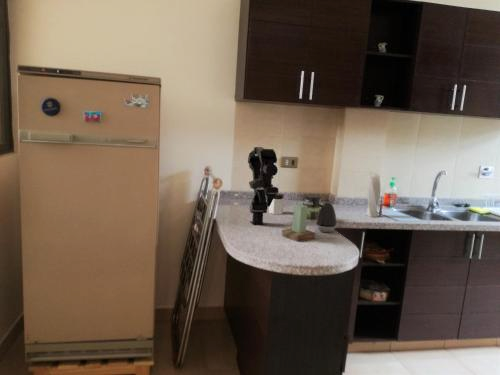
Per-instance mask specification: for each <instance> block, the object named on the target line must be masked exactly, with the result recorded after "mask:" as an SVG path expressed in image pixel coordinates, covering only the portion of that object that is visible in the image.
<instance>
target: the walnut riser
mask: <svg viewBox="0 0 500 375" xmlns="http://www.w3.org/2000/svg"><path fill="white" fill-rule="evenodd" d="M281 237H284V238H286V239H289V240H292V241H295V242H303V241H304V242H305V241H309V240H315V237H316V232H314V231H311V230H307V229H306V232H302V233H297V232H294V231H292V228H287V229H282V230H281Z"/></svg>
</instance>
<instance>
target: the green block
mask: <svg viewBox="0 0 500 375" xmlns="http://www.w3.org/2000/svg"><path fill="white" fill-rule="evenodd" d="M307 209H308V206H305V205H303V204H300V203H299V204H294V205H293V213H292V214H293V216H292V225H291V226H292V228H291V229H292V231H294V232H297V233H302V232H306V230H307V221H306V220H307Z"/></svg>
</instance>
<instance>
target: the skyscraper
mask: <svg viewBox="0 0 500 375" xmlns="http://www.w3.org/2000/svg"><path fill="white" fill-rule="evenodd" d="M369 176H370V178H369V179H370V180H369V182H368V187H367V202H368V207H367V210H366V214H365V216H366V217H369V218H374V219H377V218H382V213H383V210H382V209H383V204H382V203H383V198H382V197H381V199H380V196H381V180H380V179H381V175H380V174H378V173H376V172H373V174H372V173H369ZM379 200H380V204H379V211H378V203H379Z"/></svg>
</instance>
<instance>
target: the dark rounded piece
mask: <svg viewBox="0 0 500 375" xmlns="http://www.w3.org/2000/svg"><path fill="white" fill-rule="evenodd" d="M317 205H318V206H319V207H320V210H319V213H318V216H317V220H316V221H315V224H316V226H317V229H318V230H319V231H320V232H322V233H332V232H333V231H335V229H336V227H337V214H336V211H335V207H334V206H333V204H332V203H331V202H327V201H326V202H324V203H323V204H321V203H320V204H317Z"/></svg>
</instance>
